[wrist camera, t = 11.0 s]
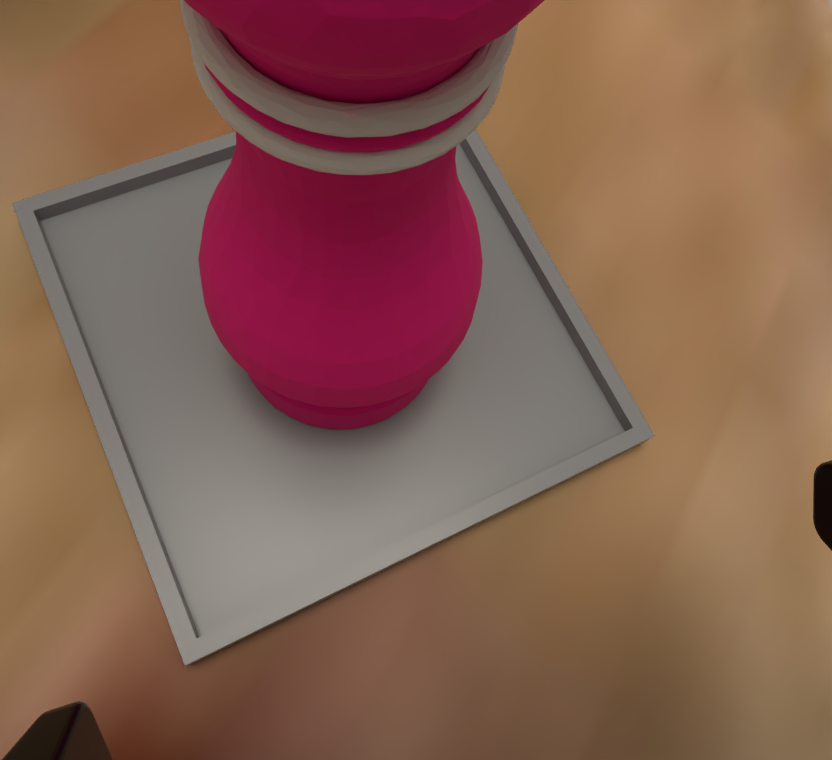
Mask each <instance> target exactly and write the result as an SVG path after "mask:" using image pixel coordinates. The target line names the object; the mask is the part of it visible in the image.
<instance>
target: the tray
mask: <svg viewBox="0 0 832 760" xmlns="http://www.w3.org/2000/svg"><path fill="white" fill-rule="evenodd" d="M235 147H236V132H232V133H229V134H226V135H223V136H220V137H217V138H214V139H211V140H207V141H204V142H201V143H198V144H195V145H192V146H189V147H186V148H182V149H179V150H176V151H173V152H170V153H167V154H164V155H161V156H157V157H154V158H151V159H148V160H145V161H142V162H139V163H136V164H132V165H129V166H126V167H123V168H120V169H117V170H114V171H111V172H107V173H104V174H101V175H98V176H95V177H92V178H89V179H86V180H82V181H79V182H76V183H73V184H70V185H67V186H64V187H61V188H57V189H54V190H51V191H48V192H45V193H42V194H39V195H35V196H32V197H29V198H26V199H23V200H20V201H17V202H14V203H12V204H13V207H14V210H15V212H16V215H17V218H18V221H19V223H20V226H21V229H22V231H23V234H24V237H25V239H26V242H27V245H28V247H29V250H30V253H31V255H32V258H33V261H34V263H35V266H36V269H37V271H38V274H39V277H40V279H41V282H42V285H43V287H44V290H45V293H46V295H47V298H48V301H49V303H50V306H51V309H52V312H53V314H54V317H55V320H56V322H57V325H58V328H59V330H60V333H61V336H62V338H63V341H64V344H65V346H66V349H67V352H68V354H69V357H70V360H71V362H72V365H73V368H74V370H75V373H76V376H77V378H78V381H79V384H80V386H81V389H82V392H83V394H84V397H85V400H86V402H87V405H88V408H89V411H90V413H91V416H92V419H93V421H94V424H95V427H96V429H97V432H98V435H99V437H100V440H101V443H102V445H103V448H104V451H105V453H106V456H107V459H108V461H109V464H110V467H111V469H112V472H113V475H114V477H115V480H116V483H117V485H118V488H119V491H120V493H121V496H122V499H123V501H124V504H125V507H126V510H127V512H128V515H129V518H130V520H131V523H132V526H133V528H134V531H135V534H136V536H137V539H138V542H139V544H140V547H141V550H142V552H143V555H144V558H145V560H146V563H147V566H148V568H149V571H150V574H151V576H152V579H153V582H154V584H155V587H156V590H157V592H158V595H159V598H160V601H161V603H162V606H163V609H164V611H165V614H166V617H167V619H168V622H169V625H170V627H171V630H172V633H173V635H174V638H175V641H176V643H177V646H178V649H179V651H180V654H181V657H182V659H183V662H184V665H185V666H186V665H191V664H193V663H195V662H197V661H200V660H202V659H204V658H206V657H208V656H210V655H212V654H214V653H216V652H218V651H220V650H222V649H224V648H226V647H228V646H230V645H232V644H234V643H236V642H238V641H240V640H242V639H244V638H246V637H248V636H251V635H253V634H255V633H257V632H259V631H261V630H263V629H265V628H267V627H269V626H271V625H273V624H275V623H277V622H279V621H281V620H283V619H285V618H287V617H289V616H291V615H293V614H295V613H297V612H299V611H301V610H304V609H306V608H308V607H310V606H312V605H314V604H316V603H318V602H320V601H322V600H324V599H326V598H328V597H330V596H332V595H334V594H336V593H338V592H340V591H342V590H344V589H346V588H348V587H350V586H352V585H355V584H357V583H359V582H361V581H363V580H365V579H367V578H369V577H371V576H373V575H375V574H377V573H379V572H381V571H383V570H385V569H387V568H389V567H391V566H393V565H395V564H397V563H399V562H401V561H403V560H406V559H408V558H410V557H412V556H414V555H416V554H418V553H420V552H422V551H424V550H426V549H428V548H430V547H432V546H434V545H436V544H438V543H440V542H442V541H444V540H446V539H448V538H450V537H452V536H454V535H457V534H459V533H461V532H463V531H465V530H467V529H469V528H471V527H473V526H475V525H477V524H479V523H481V522H483V521H485V520H487V519H489V518H491V517H493V516H495V515H497V514H499V513H501V512H503V511H505V510H507V509H510V508H512V507H514V506H516V505H518V504H520V503H522V502H524V501H526V500H528V499H530V498H532V497H534V496H536V495H538V494H540V493H542V492H544V491H546V490H548V489H550V488H552V487H554V486H556V485H558V484H561V483H563V482H565V481H567V480H569V479H571V478H573V477H575V476H577V475H579V474H581V473H583V472H585V471H587V470H589V469H591V468H593V467H595V466H597V465H599V464H601V463H603V462H605V461H607V460H609V459H612V458H614V457H616V456H618V455H620V454H622V453H624V452H626V451H628V450H630V449H632V448H634V447H636V446H638V445H640V444H642V443H644V442H645V441H647V440H648V439H650V438H652V437H653V436H655V435H654V433H653V432H652V430H651V428H650V427H649V425H648V423H647V421H646V420H645V418H644V416H643V415H642V413H641V411H640V410H639V408H638V406H637V404H636V403H635V401H634V399H633V398H632V396H631V394H630V392H629V391H628V389H627V387H626V386H625V384H624V382H623V380H622V379H621V377H620V375H619V374H618V372H617V370H616V368H615V367H614V365H613V363H612V362H611V360H610V358H609V357H608V355H607V353H606V351H605V350H604V348H603V346H602V345H601V343H600V341H599V339H598V338H597V336H596V334H595V333H594V331H593V329H592V327H591V326H590V324H589V322H588V321H587V319H586V317H585V315H584V314H583V312H582V310H581V309H580V307H579V305H578V304H577V302H576V300H575V298H574V297H573V295H572V293H571V292H570V290H569V288H568V286H567V285H566V283H565V281H564V280H563V278H562V276H561V274H560V273H559V271H558V269H557V268H556V266H555V264H554V262H553V261H552V259H551V257H550V256H549V254H548V252H547V251H546V249H545V247H544V245H543V244H542V242H541V240H540V239H539V237H538V235H537V233H536V232H535V230H534V228H533V227H532V225H531V223H530V221H529V220H528V218H527V216H526V215H525V213H524V211H523V209H522V208H521V206H520V204H519V203H518V201H517V199H516V198H515V196H514V194H513V192H512V191H511V189H510V187H509V186H508V184H507V182H506V180H505V179H504V177H503V175H502V174H501V172H500V170H499V168H498V167H497V165H496V163H495V162H494V160H493V158H492V156H491V155H490V153H489V151H488V150H487V148H486V146H485V145H484V143H483V141H482V139H481V138H480V136H479V134H478V133H477V131H476V129H475V130H474V131H473V132H472V133H471V134H470V135H469V136H467V137H466V138H465V139H464V140H463V141H462V142H461V143H459V144H458V145H457V147H456V157H455V161H456V169H457V176H458V179H459V182H460V183H461V185H462V187H463V189H464V191H465V193H466V195H467V197H468V199H469V201H470V204H471V206H472V209H473V211H474V214H475V216H476V221H477V226H478V231H479V235H480V243H481V251H482V260H483V264H482V279H481V287H480V291H479V295H478V299H477V303H476V307H475V311H474V315H473V319H472V322H471V325H470V327H469V329H468V331H467V334H466V336H465V338H464V340H463V341H462V343H461V344H460V346H459V347H458V349H457V350H456V352H455V353H454V354H453V356H452V357H451V359H450V360H449V361H448V362H447V363H446V364H445V365H444V366H443V367H442V368H441V369H440V370H439V371H438V372H437V373H436V374H434V375H433V376H432V377H431V378H429V380H428V381H427V383H426V385H425V386H424V388H423V389H422V390H421V392H420V393H419V395H418V396H417V397H416V398H415V399H414V400H413V401H412V402H410V403H409V404H408V405H407V406H406V407H405V408H403V409H402V410H400V411H399V412H397V413H396V414H394V415H393V416H391V417H389V418H388V419H386V420H383V421H381V422H378V423H375V424H373V425H370V426H365V427H361V428H356V429H327V428H321V427H316V426H310V425H308V424H305V423H303V422H300V421H298V420H295V419H293V418H291V417H289V416H288V415H286V414H285V413H283V412H282V411H280V410H278V409H277V408H275V407H274V406H273V405H272V404H271V403H270V402H269V401H268V400H267V399H266V398H265V397H264V396H263V395H262V394H261V393H260V392H259V390H258V389H257V388H256V386H255V385H254V383H253V382H252V380H251V379H250V377H249V375H248V373H247V372H246V371H245V370H244V369H243V368H242V367H241V366H240V365H239V364H238V363H237V362H236V361H235V360H234V359H233V358H232V356H231V355H230V354H229V352H228V351H227V350H226V349H225V347H224V346H223V345H222V343H221V342H220V340H219V338H218V336H217V334H216V332H215V330H214V329H213V327H212V325H211V322H210V319H209V316H208V313H207V310H206V307H205V303H204V297H203V291H202V284H201V276H200V269H199V261H198V258H199V251H200V244H201V237H202V230H203V224H204V219H205V216H206V212H207V208H208V204H209V202H210V200H211V198H212V195H213V193H214V191H215V189H216V187H217V185H218V183H219V182H220V180H221V178H222V177H223V175H224V173H225V172H226V170H227V168H228V167H229V165H230V163H231V160H232V158H233V156H234V152H235Z"/></svg>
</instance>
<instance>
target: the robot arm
mask: <svg viewBox="0 0 832 760" xmlns="http://www.w3.org/2000/svg"><path fill="white" fill-rule="evenodd" d="M813 520H814V525H815V528H816V531H817V533H818V535H819V536H820V538H821V539H822V540H823V542H824V543H825V544H826V545H827V546H828V547H829V548H830V549H831V550H832V460H831V461H828V462H825V463H822V464H820V465H819V466H818V467H817V468H816V470H815V473H814V497H813ZM2 760H112V757H111V754H110V752H109V750H108V748H107V745H106V743H105V741H104V738H103V736H102V734H101V732H100V729H99V727H98V725H97V722H96V720H95V718H94V716H93V713H92V711H91V709H90V708H89V707H88V706H87V704H86V703H83V702H80V701H78V702H74V703H71V704H68V705H65V706H62V707H59V708H56V709H52V710H49V711H47V712H45V713H43V714H42V715H41V716H40V717H39V718H38V719H37V720H36V721H35V722H34V723H33V724H32V726H31V727H30V728H29V729H28V730H27V731H26V732H25V734H24V735H23V736H22V737H21V738H20V739H19V741H18V742H17V743H16V744H15V745H14V746H13V747H12V749H11V750H10V751H9V752H8V753H7V754H6V755H5V757H4V758H3V759H2Z"/></svg>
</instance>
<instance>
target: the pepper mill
mask: <svg viewBox="0 0 832 760" xmlns="http://www.w3.org/2000/svg"><path fill="white" fill-rule="evenodd" d="M543 1H544V0H180V6H181V12H182V17H183V21H184V24H185V27H186V31H187V34H188V36H189V38H190V42H191V54H192V58H193V63H194V68H195V71H196V74H197V76H198V78H199V81H200V83H201V85H202V87H203V89H204V92H205V94H206V95H207V97H208V98H209V100H210V101H211V102H212V104H213V105H214V107H215V108H216V109H217V111H218V112H219V114H220V115H221V116H222V117H223V118H224V120H225V121H226V122H227V123H228V124H229V125H230V126H231V127H232V128H233V129H234V130H235V131H236V147H235V152H234V156H233V158H232V160H231V163H230V165H229V167H228V168H227V170H226V172H225V173H224V175H223V177H222V178H221V180H220V182H219V183H218V185H217V187H216V189H215V191H214V193H213V195H212V198H211V200H210V202H209V204H208V208H207V212H206V216H205V219H204V224H203V230H202V237H201V244H200V251H199V258H198V261H199V269H200V276H201V284H202V291H203V297H204V303H205V307H206V310H207V313H208V316H209V319H210V322H211V325H212V327H213V329H214V330H215V332H216V334H217V336H218V338H219V340H220V342H221V343H222V345H223V346H224V347H225V349H226V350H227V351H228V352H229V354H230V355H231V356H232V358H233V359H234V360H235V361H236V362H237V363H238V364H239V365H240V366H241V367H242V368H243V369H244V370H245V371H246V372H247V373H248V375H249V377H250V379H251V380H252V382H253V383H254V385H255V386H256V388H257V389H258V390H259V392H260V393H261V394H262V395H263V396H264V397H265V398H266V399H267V400H268V401H269V402H270V403H271V404H272V405H273V406H274V407H275V408H277V409H278V410H280V411H282V412H283V413H285V414H286V415H288V416H289V417H291V418H293V419H295V420H298V421H300V422H303V423H305V424H308V425H310V426H316V427H321V428H327V429H356V428H361V427H365V426H370V425H373V424H375V423H378V422H381V421H383V420H386V419H388V418H389V417H391V416H393V415H394V414H396V413H397V412H399V411H400V410H402V409H403V408H405V407H406V406H407V405H408V404H409V403H410V402H412V401H413V400H414V399H415V398H416V397H417V396H418V395H419V393H420V392H421V390H422V389H423V388H424V386H425V385H426V383H427V381H428V380H429V378H431V377H432V376H433V375H434V374H436V373H437V372H438V371H439V370H440V369H441V368H442V367H443V366H444V365H445V364H446V363H447V362H448V361H449V360H450V359H451V357H452V356H453V354H454V353H455V352H456V350H457V349H458V347H459V346H460V344H461V343H462V341H463V340H464V338H465V336H466V334H467V331H468V329H469V327H470V325H471V322H472V319H473V315H474V311H475V307H476V303H477V299H478V295H479V291H480V287H481V279H482V264H483V260H482V251H481V243H480V235H479V231H478V226H477V221H476V216H475V214H474V211H473V209H472V206H471V204H470V201H469V199H468V197H467V195H466V193H465V191H464V189H463V187H462V185H461V183H460V182H459V179H458V176H457V169H456V161H455V157H456V147H457V145H458V144H459V143H461V142H462V141H463V140H464V139H465V138H466V137H467V136H469V135H470V134H471V133H472V132H473V131H474V130H475V129H476V128H477V126H478V125H479V124H480V123H481V122H482V120H483V119H484V118H485V117H486V115H487V114H488V112H489V111H490V109H491V107H492V105H493V104H494V102H495V99H496V97H497V94H498V92H499V89H500V86H501V82H502V78H503V74H504V69H505V63H506V61H507V59H508V57H509V55H510V52H511V49H512V46H513V43H514V40H515V35H516V31H517V26H518V23H519V22H520V21H521V20H522V19H523V18H525V17H526V16H527V15H528V14H529V13H530V12H532V11H533V10H534V9H535V8H536V7H537V6H538V5H540V4H541V3H542V2H543Z"/></svg>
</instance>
